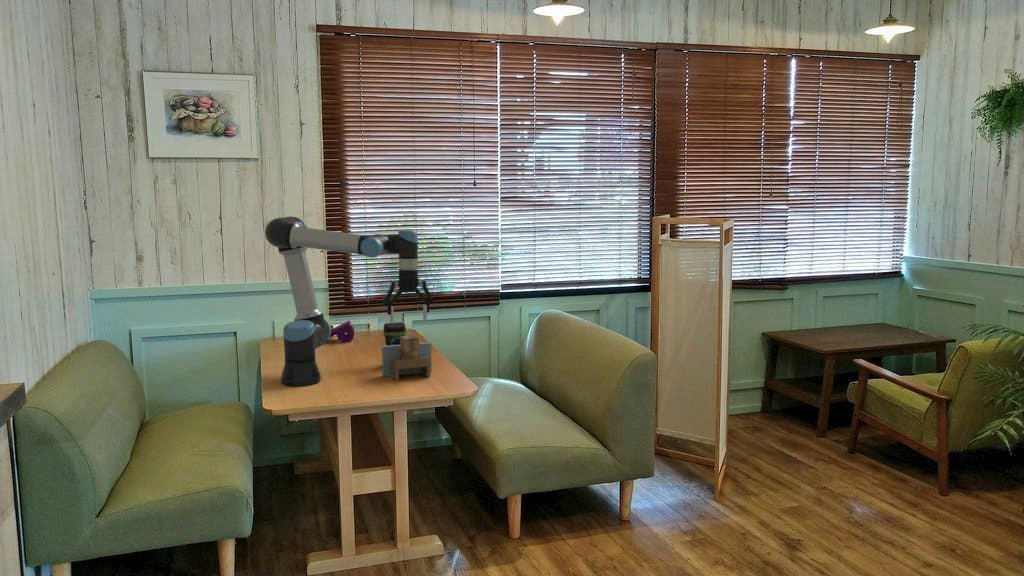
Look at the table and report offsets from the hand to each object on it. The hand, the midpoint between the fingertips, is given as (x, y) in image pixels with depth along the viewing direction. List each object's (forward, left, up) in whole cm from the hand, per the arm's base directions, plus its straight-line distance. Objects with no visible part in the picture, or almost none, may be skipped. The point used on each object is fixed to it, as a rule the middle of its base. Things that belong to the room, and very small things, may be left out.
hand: (408, 321), depth 313 cm
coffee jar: (-1, +21, -23) cm, 31 cm away
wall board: (0, +1, -22) cm, 22 cm away
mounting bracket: (-16, +82, -23) cm, 87 cm away
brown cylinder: (0, 0, -16) cm, 16 cm away
